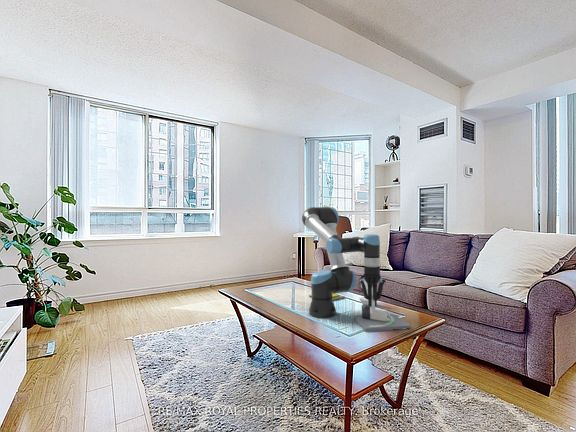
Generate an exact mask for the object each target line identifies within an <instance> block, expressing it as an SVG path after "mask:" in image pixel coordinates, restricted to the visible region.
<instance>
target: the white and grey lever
mask: <svg viewBox="0 0 576 432" xmlns="http://www.w3.org/2000/svg"><path fill="white" fill-rule="evenodd" d="M387 314H388V309H384V308H376V307H375V314H372V313H370V307H369V306H368V305H367V304H365V305H364V304H362V305H361V316H362V318H364V319H374V320H380V321H390V319H388V318H387Z"/></svg>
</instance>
